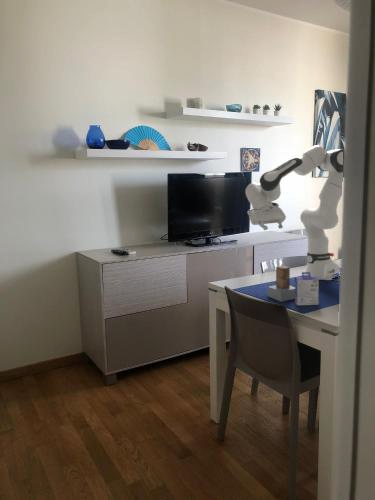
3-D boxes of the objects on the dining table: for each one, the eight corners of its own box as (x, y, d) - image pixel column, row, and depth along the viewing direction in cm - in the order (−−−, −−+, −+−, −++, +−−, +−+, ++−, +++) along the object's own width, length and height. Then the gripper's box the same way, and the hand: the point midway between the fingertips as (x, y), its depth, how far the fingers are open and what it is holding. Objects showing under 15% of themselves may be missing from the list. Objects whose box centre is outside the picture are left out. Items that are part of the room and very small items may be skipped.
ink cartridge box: (315, 301, 191) (316, 271, 189) (319, 305, 186) (319, 274, 183) (294, 302, 191) (294, 272, 189) (297, 305, 186) (297, 274, 183)
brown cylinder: (283, 285, 201) (283, 265, 199) (289, 287, 197) (289, 267, 195) (276, 287, 199) (276, 266, 198) (281, 289, 195) (282, 268, 194)
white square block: (284, 293, 206) (284, 283, 205) (297, 298, 197) (297, 288, 196) (268, 296, 202) (268, 286, 201) (280, 301, 193) (280, 291, 192)
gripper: (248, 205, 211) (259, 226, 204) (280, 203, 220) (292, 223, 213) (243, 213, 216) (254, 234, 209) (275, 211, 224) (286, 230, 217)
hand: (273, 228), depth 211 cm, fingers open, 8 cm apart
